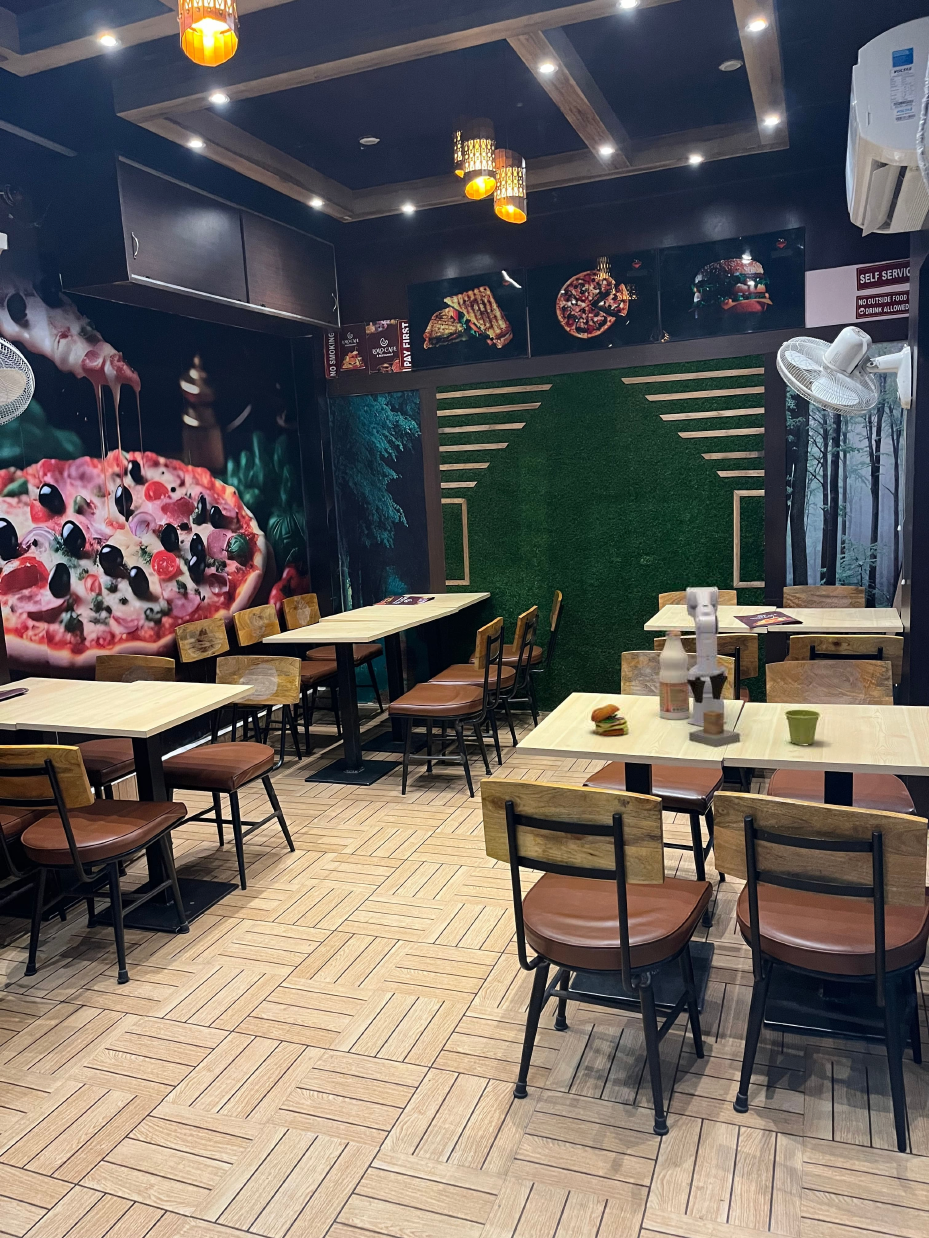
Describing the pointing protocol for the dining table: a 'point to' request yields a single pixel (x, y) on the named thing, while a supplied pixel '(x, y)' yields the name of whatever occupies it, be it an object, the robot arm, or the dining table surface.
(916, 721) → the dining table surface
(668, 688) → the fruit juice
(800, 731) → the plant pot
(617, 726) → the cheeseburger
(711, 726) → the walnut block
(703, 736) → the slate base
